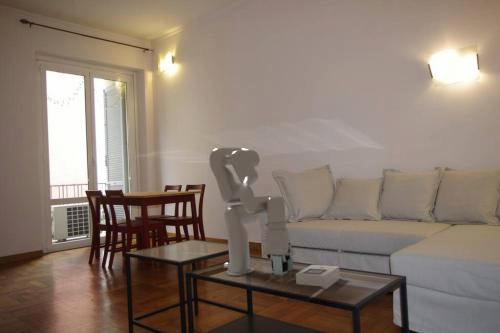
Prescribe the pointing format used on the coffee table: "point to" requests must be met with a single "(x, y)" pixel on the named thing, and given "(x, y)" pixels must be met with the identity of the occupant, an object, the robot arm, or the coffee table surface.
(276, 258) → the plug
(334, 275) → the panel
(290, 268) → the bottle
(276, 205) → the robot arm
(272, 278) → the square wooden tray
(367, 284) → the coffee table surface
